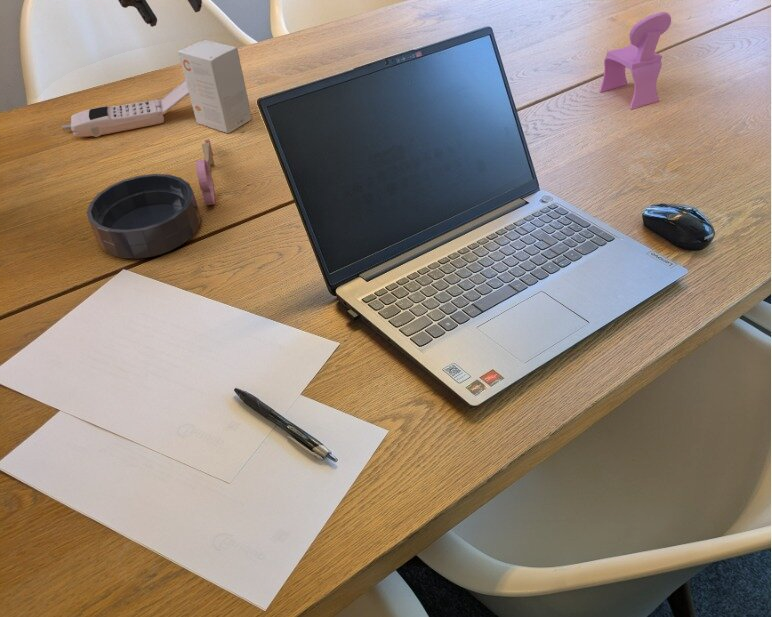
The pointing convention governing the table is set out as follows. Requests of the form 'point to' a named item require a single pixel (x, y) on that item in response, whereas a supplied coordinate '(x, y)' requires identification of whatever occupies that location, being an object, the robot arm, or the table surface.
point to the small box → (216, 85)
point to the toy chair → (638, 60)
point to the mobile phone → (125, 115)
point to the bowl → (144, 216)
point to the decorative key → (206, 174)
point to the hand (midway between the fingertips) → (177, 16)
